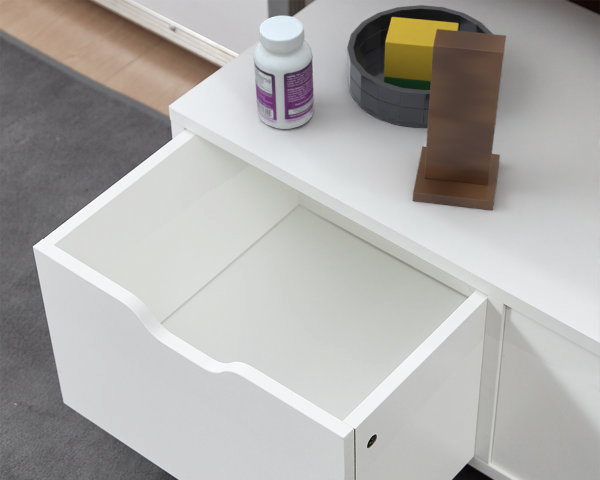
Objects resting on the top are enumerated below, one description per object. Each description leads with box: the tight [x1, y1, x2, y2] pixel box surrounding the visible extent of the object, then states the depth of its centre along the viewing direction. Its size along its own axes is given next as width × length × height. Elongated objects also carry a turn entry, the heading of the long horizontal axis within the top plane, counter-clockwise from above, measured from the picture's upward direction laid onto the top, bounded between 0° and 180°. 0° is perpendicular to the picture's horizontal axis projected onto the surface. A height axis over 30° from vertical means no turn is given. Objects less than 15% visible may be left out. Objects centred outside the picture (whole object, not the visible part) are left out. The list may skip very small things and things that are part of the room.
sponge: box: [384, 17, 459, 90], centre depth 117 cm, size 6×4×5 cm, turn 79°
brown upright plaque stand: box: [412, 29, 507, 211], centre depth 104 cm, size 7×6×15 cm
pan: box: [346, 4, 494, 129], centre depth 118 cm, size 14×14×4 cm
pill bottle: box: [253, 15, 315, 130], centre depth 113 cm, size 5×5×10 cm
